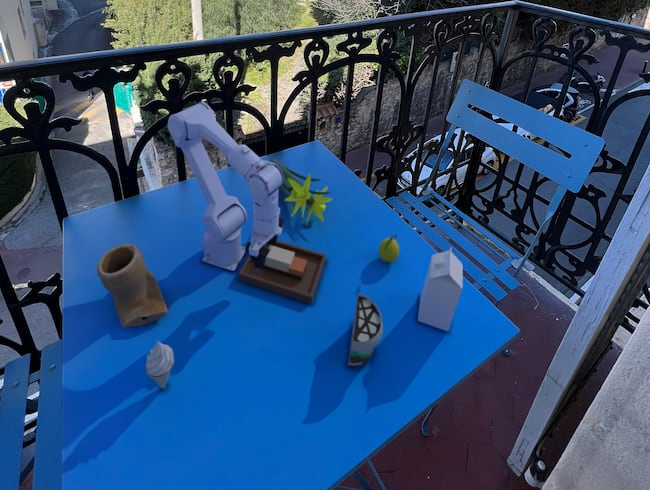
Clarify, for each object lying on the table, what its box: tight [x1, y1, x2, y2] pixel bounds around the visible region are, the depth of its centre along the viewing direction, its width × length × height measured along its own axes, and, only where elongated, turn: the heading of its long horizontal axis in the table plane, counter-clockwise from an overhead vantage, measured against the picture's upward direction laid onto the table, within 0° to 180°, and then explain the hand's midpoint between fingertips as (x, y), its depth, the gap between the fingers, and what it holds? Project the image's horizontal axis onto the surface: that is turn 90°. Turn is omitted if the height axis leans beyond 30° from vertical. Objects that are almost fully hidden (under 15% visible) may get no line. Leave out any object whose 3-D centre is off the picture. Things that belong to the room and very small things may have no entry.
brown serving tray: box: [238, 239, 327, 305], centre depth 107 cm, size 20×14×2 cm
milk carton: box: [417, 247, 464, 332], centre depth 95 cm, size 7×7×19 cm
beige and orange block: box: [263, 245, 307, 280], centre depth 106 cm, size 11×4×4 cm, turn 74°
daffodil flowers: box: [270, 158, 333, 227], centre depth 127 cm, size 17×15×35 cm
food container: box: [347, 292, 384, 368], centre depth 88 cm, size 12×6×10 cm, turn 168°
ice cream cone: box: [145, 340, 175, 390], centre depth 77 cm, size 5×5×15 cm
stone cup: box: [96, 243, 168, 328], centre depth 92 cm, size 15×12×15 cm
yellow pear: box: [378, 232, 400, 263], centre depth 110 cm, size 7×6×10 cm
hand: (265, 255), depth 99 cm, fingers open, 7 cm apart
